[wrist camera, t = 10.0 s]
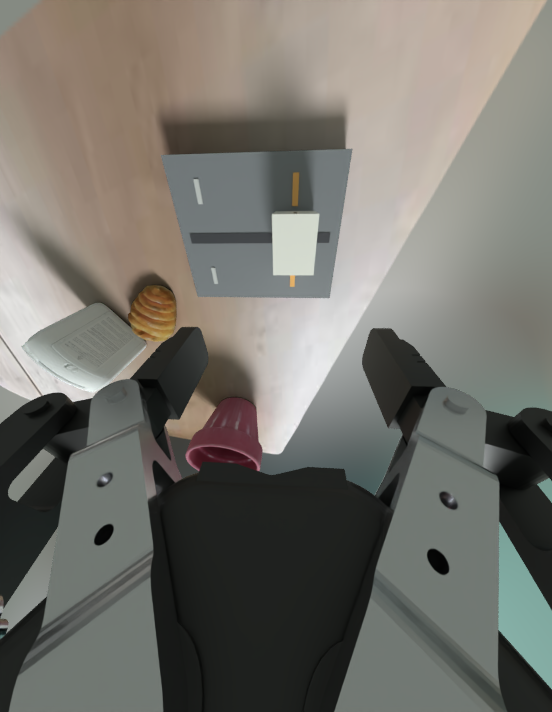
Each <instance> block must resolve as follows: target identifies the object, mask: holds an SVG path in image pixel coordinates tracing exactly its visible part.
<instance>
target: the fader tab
mask: <svg viewBox="0 0 552 712" xmlns="http://www.w3.org/2000/svg"><path fill="white" fill-rule="evenodd" d="M318 223H319V213H317V212H316V211H276V212H274V213H273V214H272V244H273V275H314V265H315V254H316V244H317V234H318Z"/></svg>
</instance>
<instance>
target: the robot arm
mask: <svg viewBox="0 0 552 712" xmlns="http://www.w3.org/2000/svg"><path fill="white" fill-rule="evenodd" d="M207 364H208V352H207V349H206V345H205V342H204V339H203V335H202V332H201V330H200V328H198V327H181V328H180V329H179V330H178V332H177V333H176V334H175V335H174V336H173V337H171V338H169V339H168V340H166V341H165V342H163V343H162V344H161V345H160V346H159V347H158V348H157V349H156V350H155V352H154V353H153V354H152V355H151V356H150V358H148V359H147V360H146V361H145V363H144V364H143V365H142V366H141V367H140V368H139V369H138V370H137V372H136V373H135V374H134V375H133V376H132V377H131V378H130V379H125V380H120V381H116V382H114V383H111V384H109V385H107V386H105V387H104V388H102V389H101V390H100V391H98V392H97V393H96V394H95V395H94V397H93V398H91V399H86V400H81V401H76V402H72V401H71V400H70V399H69V398H68V397H67V396H66V395H65V394H63V393H51V394H47V395H43V396H41V397H38V398H36V399H34V400H32V401H30V402H28V403H26V404H25V405H23V406H22V407H20V408H19V409H18V410H17V411H15V412H14V413H13V414H12V415H10V417H8V418H7V419H5V420H4V421H3V422H2V423H1V424H0V617H1V615H2V610H3V608H4V607H5V605H6V604H7V602H8V601H9V599H10V598H11V596H12V595H13V593H14V592H15V590H16V589H17V587H18V586H19V584H20V583H21V581H22V580H23V578H24V577H25V575H26V574H27V572H28V571H29V569H30V567H31V566H32V565H33V563H34V562H35V560H36V559H37V557H38V556H39V554H40V553H41V551H42V550H43V548H44V547H45V545H46V544H47V542H48V541H49V539H50V538H51V536H52V535H53V533H54V532H55V530H56V529H57V527H58V531H57V537H56V544H55V550H54V556H53V562H52V569H51V576H50V582H49V588H48V594H47V597H46V598H45V599H44V600H43V601H41V603H39V604H38V605H37V606H36V607H35V608H34V609H33V610H32V611H31V612H29V613H28V614H27V615H26V616H25V617H24V618H23V619H22V620H21V621H20V622H19V623H17V624H16V625H15V626H14V627H13V628H12V629H11V630H10V631H9V632H8V633H6V632H7V629H8V621H7V620H6V619H0V712H552V689H551V688H550V687H549V686H548V685H547V684H546V682H544V680H543V679H542V678H541V677H540V676H539V675H538V674H537V672H536V671H535V670H534V669H533V668H532V667H531V666H530V665H529V664H528V663H527V661H526V660H525V659H524V658H523V657H522V656H521V655H520V654H519V652H518V651H517V650H516V649H515V648H514V647H513V646H512V645H511V643H510V642H509V641H508V640H507V639H506V638H505V637H504V636H503V635H502V634H501V632H500V631H499V630H498V590H499V589H498V588H499V586H498V585H499V522H500V523H501V525H502V526H503V528H504V530H505V532H506V533H507V535H508V537H509V538H510V540H511V542H512V543H513V545H514V547H515V549H516V550H517V552H518V554H519V555H520V557H521V559H522V560H523V562H524V564H525V565H526V567H527V569H528V570H529V572H530V574H531V576H532V577H533V579H534V581H535V582H536V584H537V586H538V587H539V589H540V591H541V593H542V594H543V596H544V598H545V599H546V601H547V603H548V604H549V606H550V608H551V609H552V503H551V501H550V500H549V499H548V498H547V496H546V495H545V494H544V493H543V492H542V490H541V489H540V488H539V486H538V485H537V484H538V483H540V482H542V481H544V480H546V479H548V478H550V479H551V480H552V411H548V410H545V409H540V408H525V409H523V410H522V411H521V412H520V413H519V414H517V415H516V416H515V417H511V416H507V415H503V414H499V413H495V412H491V411H487V410H485V409H484V408H483V406H482V405H481V404H480V403H479V402H478V401H477V400H476V399H474V398H473V397H471V396H470V395H468V394H466V393H464V392H462V391H460V390H457V389H454V388H449V387H446V386H445V385H444V383H443V382H442V381H441V380H440V378H439V377H438V376H437V375H436V374H435V372H434V371H433V370H432V369H431V367H429V365H428V364H427V363H425V360H424V359H423V358H422V357H421V356H420V354H419V353H418V351H417V350H416V349H415V348H414V347H413V346H412V345H410V344H409V343H407V342H406V341H404V340H400V339H399V338H398V336H397V335H396V334H395V332H394V331H393V330H392V329H388V328H387V329H386V328H385V329H384V328H373V329H372V330H371V331H370V334H369V337H368V340H367V344H366V347H365V350H364V354H363V358H362V365H363V369H364V371H365V374H366V376H367V378H368V381H369V383H370V386H371V388H372V391H373V393H374V395H375V398H376V400H377V403H378V405H379V407H380V410H381V412H382V415H383V417H384V419H385V422H386V424H387V427H388V428H394V429H395V428H396V429H401V431H402V433H403V435H402V436H401V438H400V440H399V442H398V445H397V447H396V450H395V452H394V454H393V457H392V459H391V462H390V464H389V467H388V469H387V471H386V474H385V477H384V478H383V481H382V482H381V484H380V486H379V488H378V490H377V492H376V494H375V496H374V495H373V494H372V493H370V492H369V491H367V490H366V489H364V488H362V487H361V486H359V485H357V484H355V483H353V482H350V481H347V480H346V476H345V470H344V469H334V468H315V467H307V468H302V469H298V470H294V471H289V472H285V473H281V474H276V475H267V474H264V473H262V472H259V471H256V470H253V469H250V468H248V467H245V466H242V465H239V464H236V463H219V462H202V464H201V467H200V470H199V473H195V474H193V475H190V476H187V477H185V478H183V479H182V477H181V475H180V473H179V471H178V468H177V466H176V462H175V458H174V454H173V451H172V447H171V443H170V439H169V435H168V431H167V428H166V426H165V424H166V422H167V420H168V419H177V420H179V419H180V417H181V415H182V413H183V411H184V410H185V408H186V406H187V404H188V402H189V400H190V398H191V396H192V394H193V392H194V390H195V388H196V386H197V384H198V382H199V380H200V378H201V376H202V374H203V372H204V370H205V368H206V366H207ZM42 449H45V450H46V451H48V452H49V453H51V454H52V455H54V456H55V459H54V460H53V461H52V462H51V463H50V464H49V466H48V467H47V468H46V469H45V470H44V471H43V473H42V474H41V475H40V476H39V477H38V478H37V479H36V481H35V482H34V483H33V484H32V485H31V487H30V488H29V489H28V490H27V491H26V492H25V494H24V495H23V496H22V497H21V498H20V499H19V501H18V502H16V501H14V500H11V499H10V498H9V496H8V489H9V486H10V484H11V483H12V481H13V480H14V479H15V478H16V477H17V476H18V475H19V473H20V472H21V471H22V470H23V469H24V468H25V467H26V466H27V465H28V464H29V463H30V462H31V461H32V460H33V459H34V457H35V456H36V455H37V454H38V453H39V452H40V451H41V450H42Z"/></svg>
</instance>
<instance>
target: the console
mask: <svg viewBox="0 0 552 712" xmlns="http://www.w3.org/2000/svg"><path fill="white" fill-rule="evenodd" d="M351 154H352V149H332V150H302V151H271V152H240V153H209V154H179V155H161V157H162V161H163V165H164V169H165V173H166V176H167V180H168V184H169V188H170V192H171V196H172V199H173V203H174V207H175V211H176V215H177V219H178V222H179V226H180V230H181V234H182V238H183V242H184V245H185V249H186V253H187V257H188V261H189V265H190V268H191V272H192V276H193V280H194V284H195V288H196V291H197V295H198V297H280V298H329V297H330V291H331V284H332V278H333V271H334V265H335V258H336V252H337V245H338V239H339V232H340V226H341V219H342V213H343V206H344V200H345V193H346V187H347V180H348V174H349V167H350V161H351ZM276 211H316V212H317V213H319V223H318V234H317V244H316V254H315V265H314V275H273V244H272V214H273V213H274V212H276Z"/></svg>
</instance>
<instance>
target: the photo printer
mask: <svg viewBox="0 0 552 712" xmlns="http://www.w3.org/2000/svg"><path fill="white" fill-rule="evenodd" d="M146 344H147V343H146V342H145V341H144V340H143V339H142V338H140V337H139V336H137V335H136V334H134V333H133V331H132V328H131V327H129V326H128V325H127V324H126V323H125V322H124V321H123V320H122V319H121V318H119V317H118V316H117V315H116V314H115V313H114V312H113V311H112V310H110V309H109V308H108V307H107V306H105V305H104V304H102V303H94V304H92V305H90V306H88V307H86V308H84V309H82V310H80V311H78V312H76V313H74V314H72V315H70V316H68V317H66V318H64V319H62V320H60V321H58V322H56V323H54V324H52V325H50V326H48V327H46V328H44V329H42V330H40V331H38V332H37V333H36V334H34V335H33V336H32V337H30V338H29V340H28V341H27V342H26V343H25V344H24V345H23V346H22V348H23V350H24V351H25V352H26V353H27V355H28V356H29V357H30V358H31V359H32V360H33V361H34V362H35V363H36V364H37V365H39V366H40V367H41V368H42V369H44V370H45V371H46V372H48V373H49V374H51V375H52V376H54V377H56V378H57V379H59V380H61V381H63V382H65V383H67V384H69V385H71V386H73V387H76V388H79V389H82V390H85V391H88V392H92V393H93V392H95V391H97V390H99V389H100V388H103V387H105V386H106V385H108V384H109V383H110V382H111V381H112V380H113V379H114V378H115V377H116V376H117V375H118V374H119V373H120V372H121V371H122V370H123V369H125V368H126V367H127V366H128V365H129V364H130V363H131V362H132V361H133V360H134V359H135V358H136V357H137V356H138V355H139V354H140V353H141V352H142V351H143V350H144V349H145V348H146Z"/></svg>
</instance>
